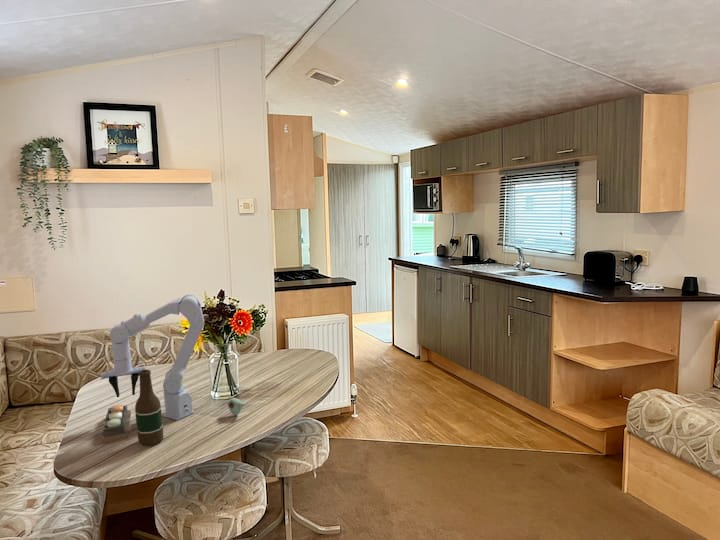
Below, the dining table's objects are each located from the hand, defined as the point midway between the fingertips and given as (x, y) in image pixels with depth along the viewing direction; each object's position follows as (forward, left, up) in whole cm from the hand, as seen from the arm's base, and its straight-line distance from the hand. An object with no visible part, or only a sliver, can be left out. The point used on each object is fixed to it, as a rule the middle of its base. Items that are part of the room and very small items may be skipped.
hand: (126, 395), depth 194 cm
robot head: (-32, -21, -10) cm, 39 cm away
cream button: (-2, +6, -6) cm, 9 cm away
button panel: (-2, +6, -9) cm, 11 cm away
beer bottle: (-22, +7, -10) cm, 25 cm away
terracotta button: (+3, +2, -6) cm, 7 cm away
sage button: (-7, +10, -6) cm, 14 cm away
